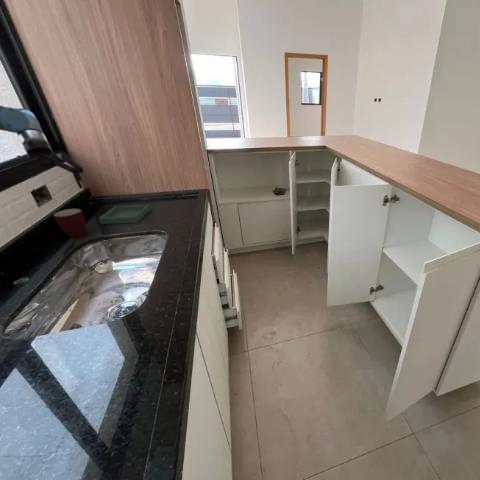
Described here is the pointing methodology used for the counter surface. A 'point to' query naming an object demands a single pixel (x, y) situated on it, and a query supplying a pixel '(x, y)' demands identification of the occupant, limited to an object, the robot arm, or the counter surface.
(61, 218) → the mug
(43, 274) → the counter surface
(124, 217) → the tray
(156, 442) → the counter surface
